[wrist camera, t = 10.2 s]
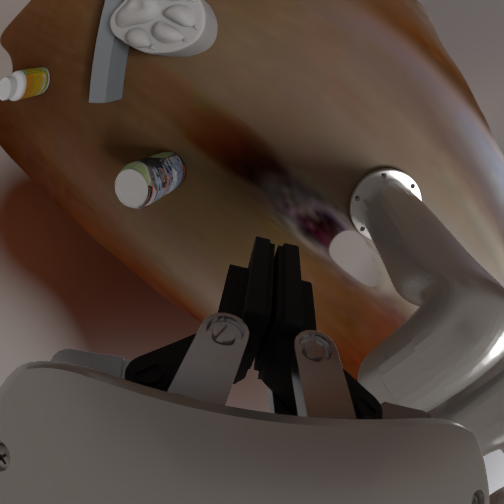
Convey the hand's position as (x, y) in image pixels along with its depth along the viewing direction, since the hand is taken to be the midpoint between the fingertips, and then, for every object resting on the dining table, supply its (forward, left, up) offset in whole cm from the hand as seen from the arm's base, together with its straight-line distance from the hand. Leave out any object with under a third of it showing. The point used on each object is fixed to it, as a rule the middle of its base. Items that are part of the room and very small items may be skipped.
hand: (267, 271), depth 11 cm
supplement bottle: (+43, -6, -32) cm, 54 cm away
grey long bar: (+26, -14, -32) cm, 43 cm away
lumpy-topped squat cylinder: (+17, -14, -32) cm, 39 cm away
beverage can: (+15, +8, -32) cm, 36 cm away
